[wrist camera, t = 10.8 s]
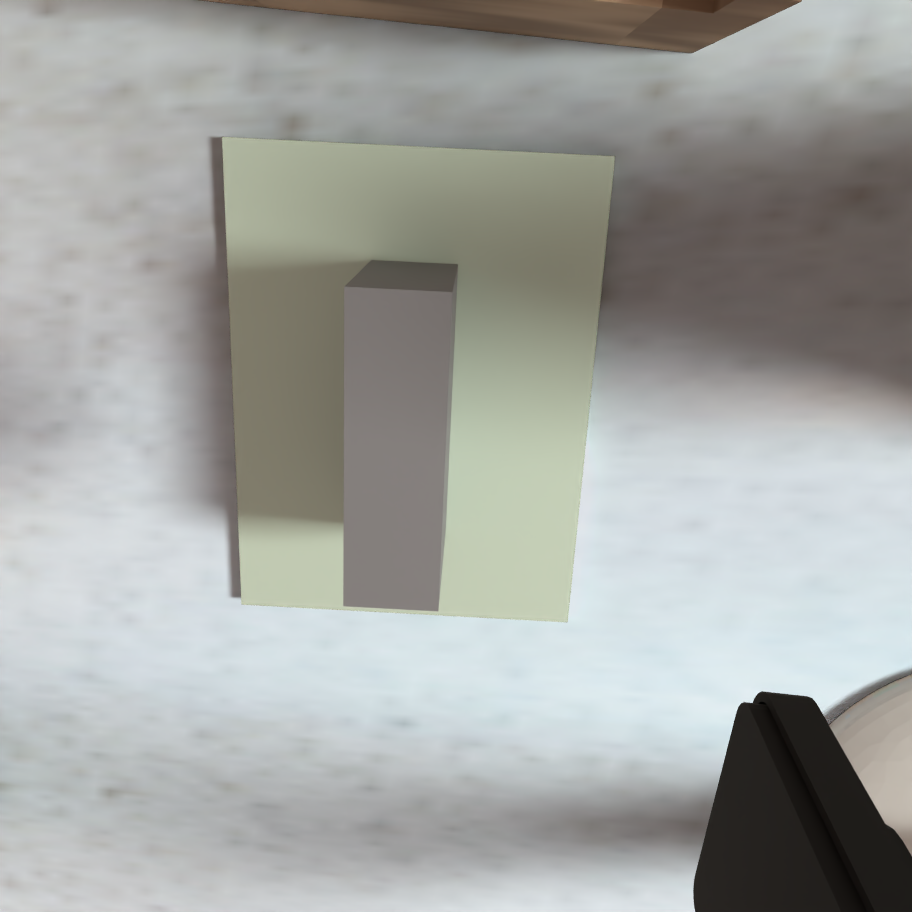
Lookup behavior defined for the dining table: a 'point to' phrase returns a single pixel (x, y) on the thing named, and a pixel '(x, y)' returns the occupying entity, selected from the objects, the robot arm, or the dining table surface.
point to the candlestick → (883, 751)
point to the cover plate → (497, 363)
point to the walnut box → (564, 17)
